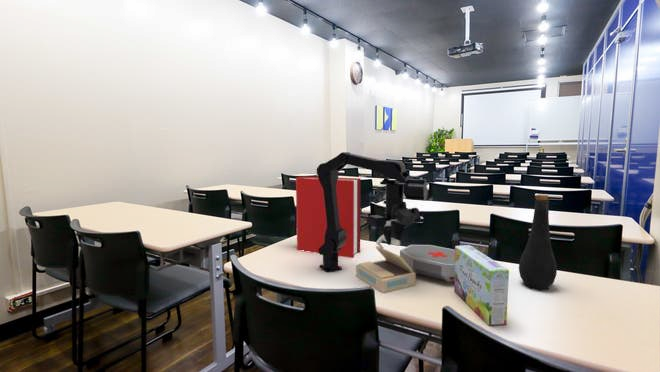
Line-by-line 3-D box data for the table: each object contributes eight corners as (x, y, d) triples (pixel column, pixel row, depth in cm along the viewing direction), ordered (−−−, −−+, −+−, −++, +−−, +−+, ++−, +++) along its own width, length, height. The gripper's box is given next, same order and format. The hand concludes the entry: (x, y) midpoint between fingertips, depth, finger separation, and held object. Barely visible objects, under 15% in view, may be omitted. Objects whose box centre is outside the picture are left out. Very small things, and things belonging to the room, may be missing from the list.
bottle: (523, 276, 121) (529, 191, 117) (559, 285, 113) (566, 195, 110) (513, 285, 113) (518, 195, 110) (550, 295, 106) (557, 198, 102)
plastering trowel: (369, 241, 122) (378, 231, 124) (386, 260, 127) (394, 250, 128) (394, 252, 110) (403, 241, 111) (412, 273, 114) (420, 261, 116)
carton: (355, 276, 122) (355, 263, 122) (386, 269, 128) (386, 257, 128) (382, 293, 108) (383, 278, 108) (415, 285, 114) (415, 271, 114)
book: (360, 252, 149) (360, 178, 145) (353, 257, 142) (353, 180, 138) (304, 245, 160) (303, 176, 156) (295, 250, 153) (294, 177, 149)
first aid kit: (393, 273, 125) (463, 291, 109) (394, 253, 124) (464, 268, 108) (415, 260, 139) (480, 275, 123) (416, 242, 138) (481, 255, 122)
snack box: (452, 291, 110) (453, 245, 108) (469, 290, 110) (471, 244, 108) (487, 326, 89) (490, 269, 87) (508, 325, 89) (511, 269, 87)
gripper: (386, 203, 104) (385, 254, 106) (433, 199, 113) (431, 246, 114) (365, 198, 114) (365, 245, 116) (410, 195, 123) (409, 238, 124)
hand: (393, 244), depth 117 cm, fingers open, 3 cm apart
